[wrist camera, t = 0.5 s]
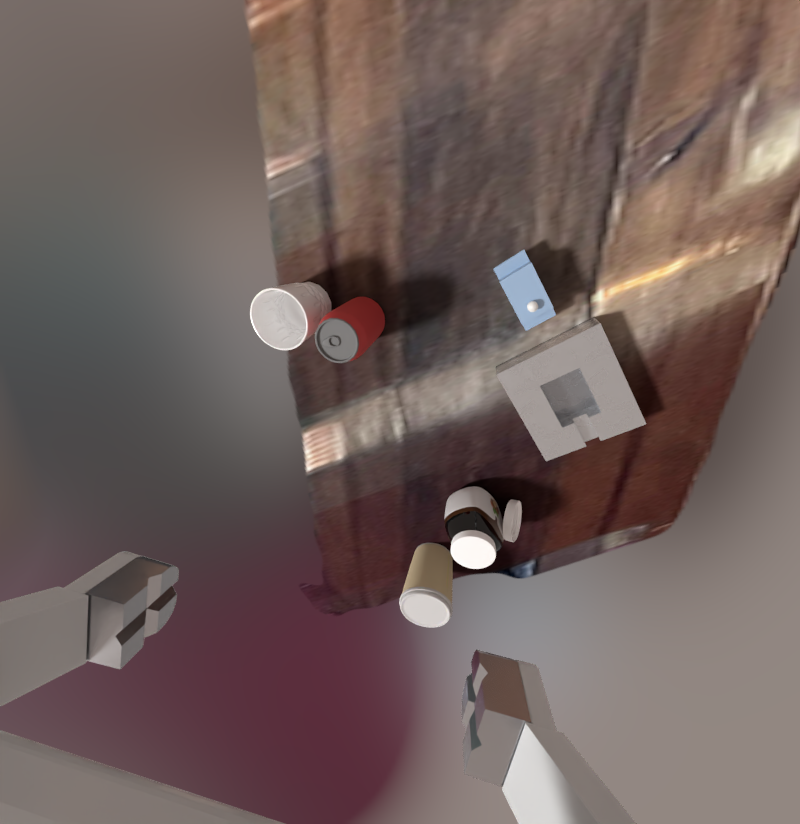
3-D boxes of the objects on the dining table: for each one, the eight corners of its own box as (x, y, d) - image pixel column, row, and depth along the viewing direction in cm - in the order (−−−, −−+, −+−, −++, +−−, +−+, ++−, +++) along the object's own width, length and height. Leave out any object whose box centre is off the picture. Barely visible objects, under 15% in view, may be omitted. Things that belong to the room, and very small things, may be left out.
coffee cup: (414, 571, 77) (403, 626, 67) (407, 538, 74) (394, 591, 63) (459, 574, 75) (454, 631, 65) (453, 539, 71) (448, 594, 61)
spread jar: (441, 489, 66) (433, 538, 56) (498, 465, 62) (500, 513, 52) (476, 535, 70) (474, 589, 59) (532, 515, 65) (541, 570, 55)
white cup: (329, 274, 53) (298, 284, 44) (340, 328, 56) (314, 348, 48) (280, 280, 55) (241, 291, 46) (294, 332, 58) (260, 352, 50)
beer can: (338, 300, 54) (303, 319, 44) (380, 291, 53) (354, 309, 42) (350, 343, 57) (319, 370, 47) (390, 336, 55) (368, 363, 45)
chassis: (593, 317, 48) (600, 323, 46) (637, 413, 53) (646, 424, 50) (495, 366, 54) (496, 374, 51) (543, 449, 59) (545, 461, 56)
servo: (521, 247, 47) (526, 251, 42) (552, 309, 49) (559, 320, 44) (493, 266, 48) (493, 271, 43) (523, 325, 51) (528, 336, 46)
